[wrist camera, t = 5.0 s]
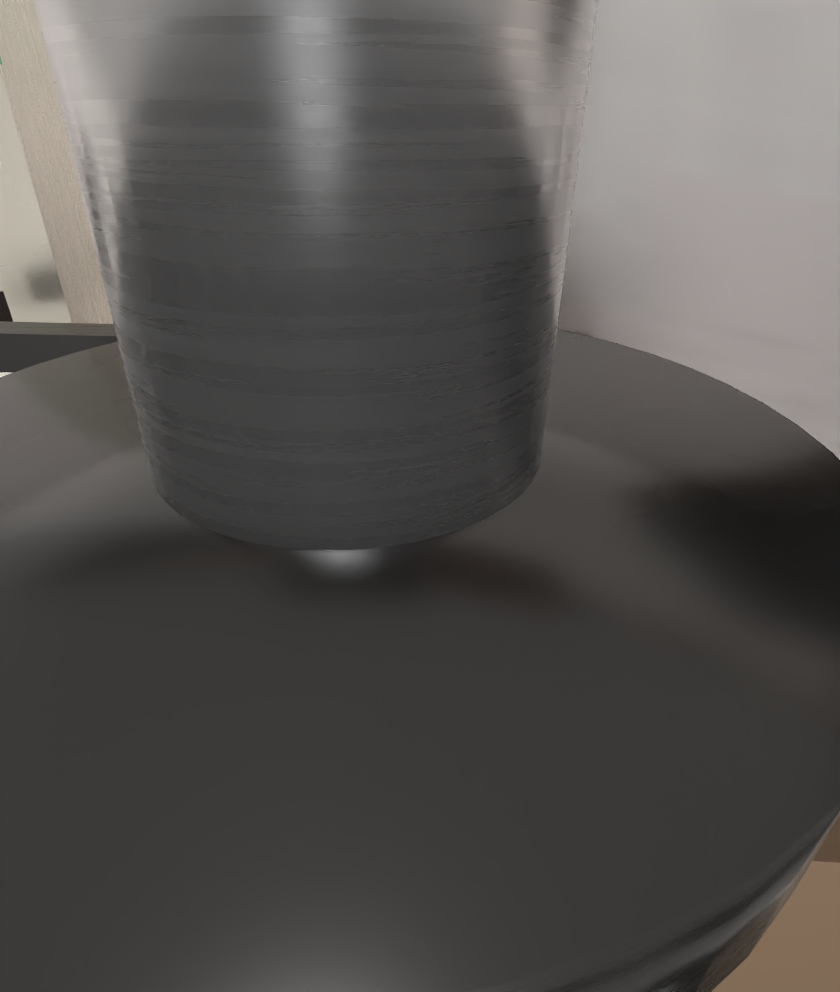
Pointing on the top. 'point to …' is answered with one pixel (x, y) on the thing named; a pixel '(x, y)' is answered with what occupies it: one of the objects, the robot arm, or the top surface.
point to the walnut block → (800, 935)
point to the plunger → (384, 542)
